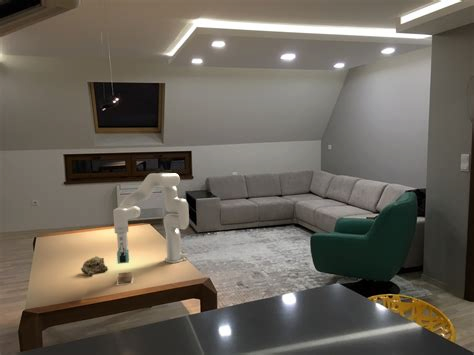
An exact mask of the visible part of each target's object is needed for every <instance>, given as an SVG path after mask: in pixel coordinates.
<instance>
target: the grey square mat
mask: <svg viewBox="0 0 474 355" xmlns="http://www.w3.org/2000/svg"><path fill="white" fill-rule="evenodd" d="M130 284H134V277H132V281H131V283H126V284H125V285H130ZM121 285H124V284H118V280H117V282H116V286H121Z"/></svg>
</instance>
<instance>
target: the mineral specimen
mask: <svg viewBox="0 0 474 355" xmlns="http://www.w3.org/2000/svg"><path fill="white" fill-rule="evenodd" d="M104 260H105V258H104V257H99V256H94V257H91V258H90V259H87V260H85V261H84V262H83V265H82V267H81V268H80V270H81V272H82V273H83V274H84V275H85V274H86V275H96V274H101V273H106V272H108V271H109V269H108V268H109V267H108V266H107V265H105V261H104Z"/></svg>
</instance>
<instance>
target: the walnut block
mask: <svg viewBox="0 0 474 355" xmlns="http://www.w3.org/2000/svg"><path fill="white" fill-rule="evenodd" d="M117 275H118V276H117V281H118V284H123V285H127V284H126V283H131V281H132V278H133V276H132V271H129V272H127V271H126V272H120V273H119V272H118V274H117Z"/></svg>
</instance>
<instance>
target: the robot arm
mask: <svg viewBox="0 0 474 355" xmlns="http://www.w3.org/2000/svg"><path fill="white" fill-rule="evenodd" d="M180 183H181V178H180V176H179V174H178V173H176V172H173V173H172V172H159V173H156V172H155V173H154V172H153V173H152V172H151V173H149V174H148V175H147V176H145V179H144V180H143V181H142V182H141V183H140V185H139V187H138V188H137V189H136V190H134V191H133V192H131V193H130V194H128V195H126V197H125V198H123V199H122V201H121V202H120V203H119V205H118V206H117V208H114V209H113V210H112V211H113V212H112V213H113V214H112V215H113V226H114V234H116V240H117V249H118V250H119V251H120V264H123V263H122V262H126V255H125V250H128V249H129V243H128V242H129V240H128V233H129V220H133V219H134V220H136V219H138V218H139V217H140V216H141V213H142V211H141V208H140V207H139V206H137V205H135V204H137V203H140V202H143V201H146V200H148V199H150V198H151V196H152V194H153V193H154V191H155V190H156V188H162V190H163V194H164V208H165V210H166V212H170V213H168V214H166V215H165V216H164V217H163V226H164V229H165V230H164V231H165V243H166V257H165V258H164V261H165V263H169V264H175V263H181V262H183V261H184V259H185V257H188V258H189V253H187V252H185V253H183V252H182V243H181V242H182V241H181V231H180V230H186V229H187V228H188V227H189V225H190V214H189V210H190V208H189V203H188V201H187V199H186V198H182V197H181V198H180V197H179V196H178V189H177V186H179V184H180ZM118 250H117V251H118ZM123 251H124V252H123Z"/></svg>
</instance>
